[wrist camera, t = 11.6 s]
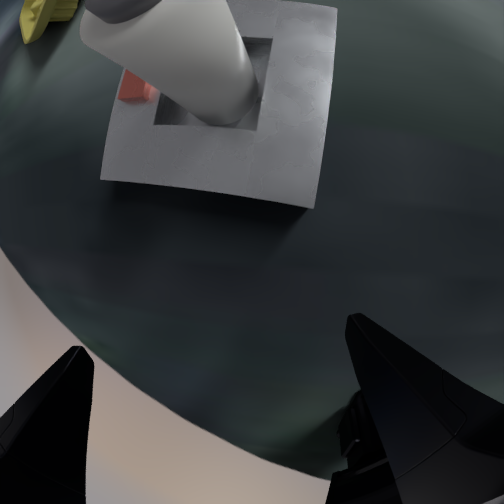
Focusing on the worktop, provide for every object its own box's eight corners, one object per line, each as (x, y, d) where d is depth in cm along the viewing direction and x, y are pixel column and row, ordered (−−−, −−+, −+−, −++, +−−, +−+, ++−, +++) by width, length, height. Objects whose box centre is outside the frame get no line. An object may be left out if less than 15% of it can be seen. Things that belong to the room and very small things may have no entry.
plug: (274, 85, 15) (236, -58, 3) (225, 139, 17) (105, 55, 5) (220, 52, 15) (139, -65, 3) (174, 102, 17) (46, 25, 4)
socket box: (332, 33, 15) (338, 1, 10) (309, 206, 18) (314, 209, 14) (163, 29, 16) (140, 6, 12) (127, 180, 19) (92, 179, 15)
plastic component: (18, 17, 15) (40, -34, 8) (55, 14, 21) (78, -33, 14) (26, 55, 15) (56, -23, 8) (79, 50, 20) (113, -18, 14)
